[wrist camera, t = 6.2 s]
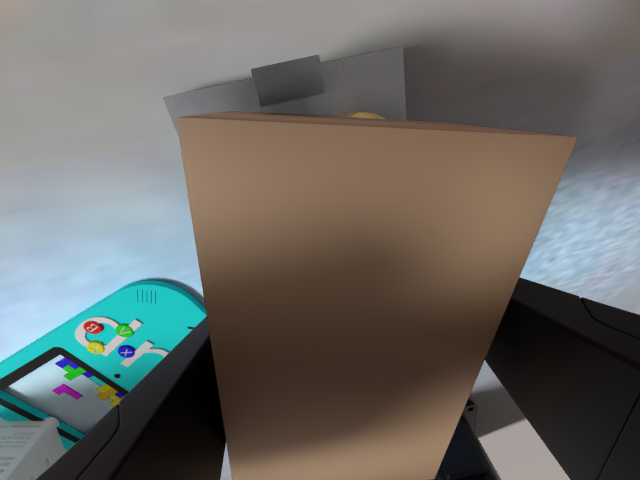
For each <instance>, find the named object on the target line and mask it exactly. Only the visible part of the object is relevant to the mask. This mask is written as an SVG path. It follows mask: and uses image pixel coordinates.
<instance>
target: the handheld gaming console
mask: <svg viewBox="0 0 640 480" xmlns="http://www.w3.org/2000/svg"><path fill="white" fill-rule="evenodd" d="M206 316H207V314H206V308H205V307H204V306H203V305H202V304H201V303H200V302H199V301H198V300H197V299H196V298H195V297H193V296H192V295H191V294H190V293H189V292H187V291H186V290H184V289H182V288H180V287H179V286H176V285H174V284H171V283H167V282H163V281H155V280H144V281H138V282H133V283H131V284H128V285H126V286H124V287H122V288H120V289H119V290H117V291H116V292H114V293H112V294H111V295H109V296H107V297H106V298H104V299H103V300H101V301H99V302H98V303H96V304H94V305H93V306H91V307H89V308H88V309H86V310H85V311H83V312H81V313H80V314H78V315H76V316H75V317H73V318H72V319H70V320H68V321H67V322H65V323H63V324H62V325H60V326H59V327H57V328H55V329H54V330H52V331H50V332H49V333H47V334H46V335H44V336H42V337H41V338H39V339H37V340H36V341H34V342H33V343H31V344H29V345H28V346H26V347H24V348H23V349H21V350H20V351H18V352H16V353H15V354H13V355H11V356H10V357H8V358H6V359H5V360H3V361H2V362H0V417H1V418H3V419H5V420H7V421H45V420H43V419H45V418H46V417H51V416H49V415H47V414H45V413H44V412H42V411H40V410H38V409H36V408H34V407H32V406H30V405H29V404H27V403H25V402H23V401H21V400H19V399H17V398H15V397H14V396H12V395H10V394H8V393H6V392H4V391H2V390H3V389H4V388H6V387H8V386H9V385H11V384H12V383H14V382H16V381H17V380H19V379H21V378H22V377H24V376H25V375H27V374H29V373H30V372H32V371H34V370H35V369H37V368H38V367H40V366H42V365H43V364H45V363H47V362H48V361H50V360H52V359H53V358H55V357H56V356H58V355H60V354H61V355H62V356H64V357H65V358H63V359H62V360H60V361H58V362H57V363H55V364H56V365H58V366H59V367H61V368H62V369H64V370H66V371H67V372H69V373H67V374H66V375H64V377H66V378H67V379H69V380H72V379H74V378H75V377H77V376H79V375H81V374H83V375H84V376H86V377H88V378H89V379H91V380H92V381H94V382H95V383H97V384H98V385H100V386H101V387H99V388H97V389H96V390H97V391H99V392H101V394H100V395H98V396H97V397H98V398H100V399H102V400H104V399H106V398H108V397H109V398H110V399H112V400H114V401H113V402H111V403H109V404H110V405H111V406H113V407H114V406H115V405H116V404H119V401H120V400H121V399H122V398H121V397H123V396H125V395H126V394H127V393H128V392H130V391H131V390H132V389H133V388H134V387H135V386H136V385H137V384H138V383H139V382H140V381H141V380H142V379H143V378H144V377H145V376H146V375H147V374H148V373H149V372H150V371H151V370H152V369H153V368H154V367H155V366H156V365H157V364H158V363H159V362H160V361H161V360H162V359H163V358H164V357H165V356H166V355H167V354H168V353H169V352H170V351H171V350H172V349H173V348H174V347H175V346H176V345H177V344H178V343H179V342H181V341H182V340H183V339H184V338H185V337H186V336H187V335H188V334H189V333H190V332H191V331H192V330H193V329H194V328H195V327H196V326H197V325H198V324H199V323H200V322H201V321H202V320H203V319H204V318H205V317H206ZM53 392H55V393H57V394H58V395H60V394H61V393H63V392H65V393H67V394H69V395H71V396H72V397H74V398H76V399H79V398H80V397H82V396H83V395H81V394H79V393H78V392H76V391H74V390H73V389H71V388H69V387H68V386H66V385H64V384H63V385H61V386H59V387H58V388H56V389H54V390H53ZM58 421H59V420H58ZM59 424H60V425H59V427H57V430H58V434H59V436H60V438H61V441H62V444H63V446H64V449H67V450H69V449H70V448H71V447H72V446H73V445H74V444H76V443H77V442H78V441H79V440H80V439H81V438H82V437H83V436H84V435H85V434H83V433H81V432H79V431H77V430H75V429H74V428H72V427H70V426H68V425H66V424H64V423H62V422H60V421H59Z"/></svg>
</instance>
